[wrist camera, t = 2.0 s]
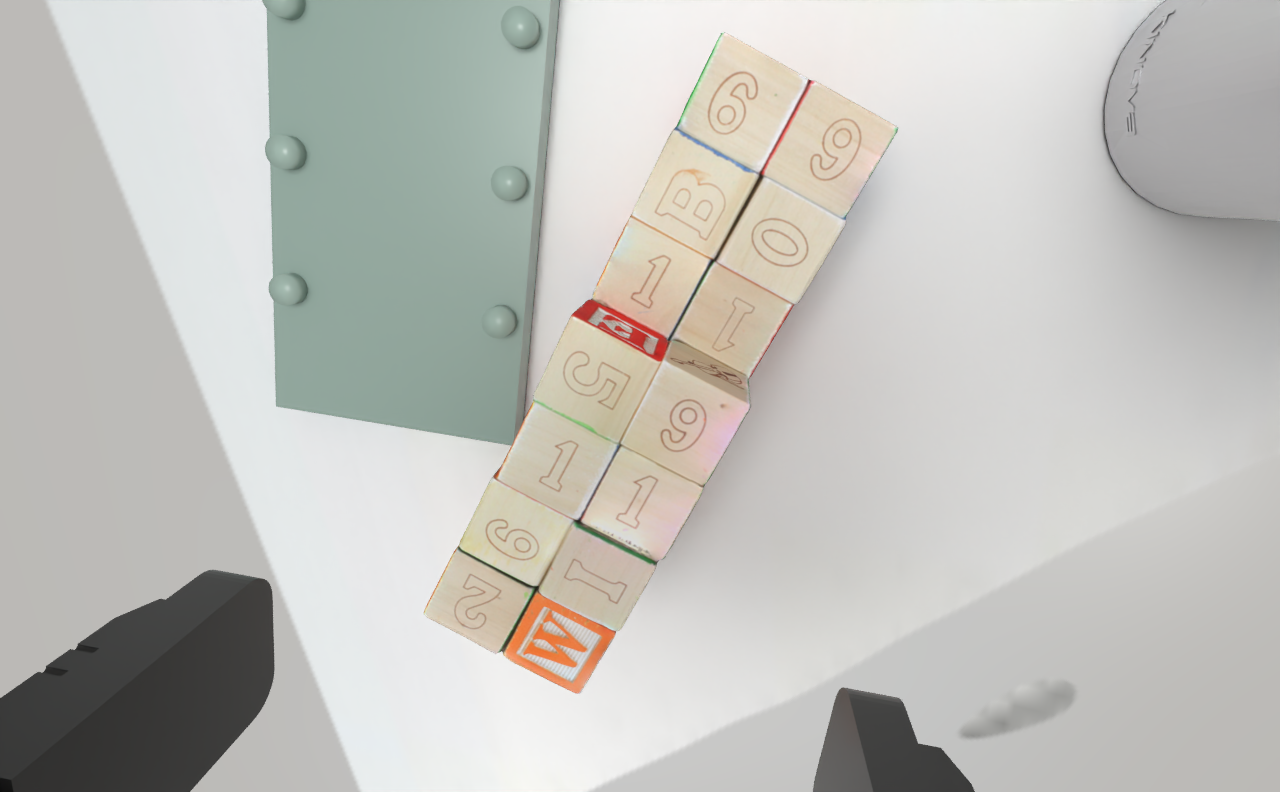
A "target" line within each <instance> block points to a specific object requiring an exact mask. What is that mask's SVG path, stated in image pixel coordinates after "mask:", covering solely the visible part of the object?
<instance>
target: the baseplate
mask: <svg viewBox="0 0 1280 792" xmlns="http://www.w3.org/2000/svg"><path fill="white" fill-rule="evenodd" d="M262 1H263V3H264V5H265V7H266V8H267V36H268V79H269V122H270V138H269V139H268V141H267V143H266V147H265V152H266V156H267V158H268V160H269V162H270V165H271V208H272V251H273V278H272V279H271V281H270V283H269V293H270V295H271V297H272V299H273V300H274V337H275V380H276V406H277V407H283V408H289V409H295V410H302V411H308V412H314V413H320V414H326V415H332V416H338V417H344V418H350V419H356V420H362V421H368V422H374V423H380V424H386V425H392V426H398V427H404V428H410V429H416V430H422V431H428V432H434V433H440V434H446V435H452V436H458V437H464V438H470V439H476V440H482V441H488V442H494V443H500V444H506V445H512V444H513V442H514V440H515V438H516V436H517V434H518V432H519V430H520V427H521V425H522V423H523V418H524V406H525V395H526V383H527V372H528V360H529V349H530V337H531V326H532V314H533V303H534V291H535V280H536V268H537V257H538V245H539V234H540V222H541V210H542V199H543V187H544V176H545V164H546V153H547V141H548V130H549V118H550V107H551V95H552V84H553V72H554V61H555V49H556V38H557V26H558V14H559V3H560V0H262Z"/></svg>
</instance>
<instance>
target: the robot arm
mask: <svg viewBox="0 0 1280 792" xmlns="http://www.w3.org/2000/svg"><path fill="white" fill-rule="evenodd" d="M1105 134H1106V138H1107V142H1108V146H1109V151H1110V155H1111V157H1112V159H1113V161H1114V163H1115V165H1116V167H1117V169H1118V171H1119V173H1120V174H1121V176H1122V177H1123V179H1124V180H1125V181H1126V182H1127V183H1128V184H1129V185H1130V186H1131V187H1132V188H1133V190H1134V191H1135V192H1136V193H1137V194H1139V195H1140V196H1142V197H1143V198H1145V199H1146V200H1148V201H1149V202H1151V203H1152V204H1154V205H1155V206H1158V207H1161V208H1163V209H1166V210H1169V211H1172V212H1175V213H1177V214H1184V215H1192V216H1200V217H1217V218H1237V219H1257V220H1270V221H1280V0H1166V1H1165V2H1163V3H1162V4H1161V5H1159V6H1158V7H1157V8H1156V9H1155V10H1154V11H1153V12H1152V13H1151V15H1150V16H1149V17H1148V18H1147V19H1146V20H1145V21H1144V22H1143V23H1142V24H1141V25H1140V27H1139V28H1138V29H1137V30H1136V31H1135V33H1134V35H1133V36H1132V38H1131V39H1130V41H1129V42H1128V44H1127V46H1126V47H1125V49H1124V50H1123V52H1122V53H1121V55H1120V58H1119V60H1118V63H1117V65H1116V67H1115V70H1114V72H1113V75H1112V77H1111V80H1110V83H1109V89H1108V94H1107V99H1106V104H1105ZM273 638H274V637H273V600H272V589H271V586H270V584H269V583H268V582H267V580H265V579H261V578H255V577H250V576H244V575H239V574H234V573H228V572H223V571H218V570H209V571H206V572H204V573H202V574H201V575H199V576H198V577H196V578H195V579H194V580H192V581H191V582H189V583H188V584H187V585H185V586H184V587H183V588H181V589H180V590H179V591H177V592H176V593H174V594H173V595H172V596H170V597H169V598H168V599H166V600H163V599H159V600H156V601H154V602H151V603H149V604H147V605H144V606H142V607H140V608H137V609H135V610H133V611H130V612H128V613H126V614H123V615H121V616H119V617H116V618H114V619H113V620H111V621H110V622H109V623H107V624H106V625H104V626H103V627H102V628H100V629H99V630H97V631H96V632H94V633H93V634H91V635H90V636H89V637H87V638H86V639H84V640H83V641H81V642H80V643H79V644H78V646H77V648H76V649H75V650H71V649H70V650H69V651H67V652H66V653H64V654H63V655H62V656H60V657H59V658H57V659H56V660H54V661H53V662H51V663H50V664H49V665H47V666H46V669H45V671H44V672H43V673H41V672H37V673H36V674H34V675H33V676H31V677H30V678H29V679H27V680H26V681H24V682H23V683H22V684H20V685H19V686H17V687H16V688H14V689H13V690H12V691H10V692H9V693H7V694H6V695H4V696H3V697H2V698H0V792H190V791H191V790H192V789H193V788H194V786H195V785H196V784H197V783H198V782H199V781H200V780H201V779H202V777H203V776H204V775H205V774H206V773H207V772H208V771H209V769H210V768H211V767H212V766H213V765H214V764H215V763H216V762H217V761H218V759H219V758H220V757H221V756H222V755H223V754H224V753H225V752H226V750H227V749H228V748H229V747H230V746H231V745H232V744H233V743H234V741H235V740H236V739H237V738H238V737H239V736H240V735H241V733H242V732H243V731H244V730H245V729H246V728H247V727H248V725H250V723H251V722H252V721H253V720H254V719H255V717H256V716H257V715H258V713H259V712H260V710H261V709H262V707H263V705H264V704H265V701H266V699H267V697H268V695H269V692H270V689H271V686H272V682H273V677H274V639H273ZM813 792H975V791H974V789H973V787H972V784H971V783H970V782H969V781H968V780H967V779H966V777H965V776H964V775H963V774H962V773H961V771H960V770H959V769H958V768H957V767H956V765H955V764H954V763H953V762H952V761H951V759H950V758H949V757H948V756H947V755H946V754H945V753H944V751H943V750H942V749H941V748H938V747H933V746H928V745H923V744H918V742H917V739H916V737H915V734H914V731H913V728H912V725H911V722H910V720H909V717H908V714H907V711H906V709H905V706H904V704H903V702H902V701H901V700H900V699H899V698H896V697H891V696H886V695H880V694H875V693H870V692H864V691H859V690H853V689H848V688H841V689H840V690H839V692H838V694H837V696H836V699H835V703H834V706H833V710H832V714H831V718H830V722H829V726H828V729H827V733H826V737H825V741H824V745H823V749H822V753H821V757H820V760H819V764H818V768H817V772H816V776H815V781H814V788H813Z"/></svg>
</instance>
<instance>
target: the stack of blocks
mask: <svg viewBox="0 0 1280 792" xmlns="http://www.w3.org/2000/svg"><path fill="white" fill-rule="evenodd" d="M897 130H898V127H897V126H895V125H893V124H891V123H890V122H888V121H886V120H884V119H882V118H881V117H879V116H877V115H875V114H874V113H872V112H870V111H868V110H866V109H865V108H863V107H861V106H859V105H857V104H855V103H854V102H852V101H850V100H848V99H846V98H845V97H843V96H841V95H840V94H838V93H836V92H834V91H832V90H831V89H829V88H827V87H825V86H823V85H822V84H820V83H818V82H816V81H811V80H809V79H807V78H805V77H804V76H802V75H800V74H798V73H797V72H795V71H793V70H792V69H790V68H788V67H787V66H785V65H783V64H781V63H779V62H778V61H776V60H774V59H772V58H770V57H769V56H767V55H765V54H763V53H761V52H759V51H757V50H756V49H754V48H752V47H751V46H749V45H747V44H745V43H743V42H741V41H740V40H738V39H736V38H734V37H732V36H731V35H729V34H727V33H725V32H723V33H721V35H720V37H719V39H718V40H717V42H716V44H715V47H714V49H713V51H712V53H711V55H710V57H709V59H708V61H707V63H706V65H705V67H704V69H703V71H702V73H701V76H700V78H699V80H698V82H697V84H696V86H695V88H694V90H693V92H692V94H691V96H690V98H689V100H688V102H687V104H686V106H685V109H684V111H683V113H682V116H681V118H680V120H679V122H678V125H677V126H676V128H675V129H674V130H673V131H672V133H671V134H670V136H669V138H668V140H667V142H666V144H665V146H664V148H663V150H662V152H661V154H660V156H659V159H658V161H657V163H656V165H655V167H654V169H653V171H652V173H651V175H650V177H649V179H648V181H647V183H646V185H645V187H644V189H643V191H642V193H641V195H640V197H639V199H638V201H637V204H636V206H635V208H634V210H633V212H632V215H631V216H630V218H629V220H628V222H627V223H626V225H625V227H624V229H623V232H622V234H621V235H620V237H619V239H618V241H617V243H616V246H615V248H614V250H613V252H612V254H611V256H610V258H609V261H608V263H607V265H606V267H605V269H604V271H603V273H602V275H601V277H600V280H599V282H598V284H597V286H596V288H595V290H594V293H593V299H591V300H588V301H586V302H585V303H584V304H583V305H582V306H581V307H580V308H579V309H577V311H575V312H574V313H573V314H572V315H571V317H570V319H569V321H568V323H567V325H566V327H565V330H564V332H563V334H562V336H561V338H560V340H559V342H558V344H557V346H556V348H555V351H554V353H553V355H552V357H551V359H550V361H549V363H548V366H547V368H546V370H545V372H544V374H543V376H542V378H541V380H540V382H539V385H538V387H537V389H536V391H535V393H534V395H533V403H532V405H531V407H530V409H529V411H528V413H527V415H526V417H525V419H524V421H523V423H522V425H521V427H520V430H519V432H518V434H517V436H516V438H515V440H514V442H513V444H512V446H511V448H510V450H509V452H508V454H507V456H506V458H505V460H504V462H503V464H502V466H501V467H500V468H499V469H498V471H497V472H496V473H495V474H494V476H493V477H492V479H491V480H490V482H489V484H488V486H487V488H486V490H485V492H484V494H483V496H482V498H481V501H480V503H479V505H478V507H477V509H476V511H475V513H474V515H473V517H472V519H471V521H470V523H469V525H468V527H467V529H466V531H465V533H464V535H463V537H462V539H461V541H460V544H459V546H458V547H457V548H456V550H455V551H454V553H453V555H452V557H451V559H450V561H449V563H448V565H447V567H446V569H445V570H444V572H443V574H442V576H441V578H440V580H439V582H438V584H437V586H436V588H435V590H434V592H433V594H432V596H431V598H430V600H429V602H428V604H427V606H426V608H425V611H424V615H425V616H426V617H427V618H429V619H431V620H433V621H435V622H437V623H439V624H441V625H443V626H445V627H447V628H449V629H450V630H452V631H454V632H456V633H458V634H460V635H462V636H464V637H466V638H468V639H470V640H471V641H473V642H475V643H477V644H479V645H480V646H482V647H484V648H486V649H487V650H489V651H491V652H493V653H495V654H497V653H499V652H501V651H503V655H504V656H505V657H506V658H508V659H509V660H510V661H512V662H513V663H515V664H517V665H520V666H522V667H524V668H526V669H528V670H530V671H532V672H533V673H535V674H537V675H539V676H541V677H543V678H545V679H547V680H549V681H551V682H553V683H555V684H558V685H560V686H562V687H564V688H566V689H568V690H570V691H572V692H574V693H578V694H580V693H581V691H582V690H583V688H584V686H585V685H586V683H587V681H588V680H589V678H590V676H591V675H592V673H593V671H594V670H595V668H596V666H597V664H598V663H599V661H600V660H601V658H602V656H603V655H604V653H605V651H606V650H607V648H608V646H609V645H610V643H611V641H612V640H613V638H614V636H615V633H616V631H619V630H620V629H621V628H622V627H623V625H624V623H625V621H626V620H627V618H628V616H629V614H630V613H631V611H632V609H633V607H634V606H635V604H636V602H637V600H638V599H639V597H640V595H641V594H642V592H643V590H644V588H645V587H646V585H647V583H648V581H649V579H650V578H651V576H652V574H653V572H654V571H655V568H656V565H657V562H658V561H659V560H662V559H664V558H665V557H666V555H667V553H668V551H669V550H670V548H671V547H672V545H673V543H674V541H675V539H676V537H677V536H678V534H679V532H680V531H681V529H682V527H683V526H684V524H685V522H686V520H687V519H688V517H689V515H690V513H691V512H692V510H693V508H694V507H695V505H696V503H697V501H698V500H699V498H700V496H701V493H702V491H703V488H704V485H705V483H706V482H707V481H708V480H709V479H710V477H711V475H712V473H713V472H714V470H715V468H716V466H717V465H718V463H719V461H720V460H721V458H722V456H723V454H724V453H725V451H726V449H727V447H728V446H729V444H730V442H731V441H732V439H733V437H734V435H735V434H736V432H737V430H738V428H739V427H740V425H741V423H742V421H743V420H744V418H745V416H746V415H747V413H748V411H749V410H750V406H751V404H750V393H749V380H748V379H749V378H750V377H751V375H752V374H753V372H754V370H755V369H756V367H757V365H758V364H759V362H760V360H761V359H762V357H763V355H764V354H765V352H766V350H767V349H768V347H769V345H770V344H771V342H772V340H773V339H774V337H775V335H776V334H777V332H778V330H779V329H780V327H781V326H782V324H783V322H784V321H785V319H786V317H787V316H788V314H789V312H790V311H791V309H792V307H793V306H794V305H796V304H797V303H799V301H800V300H801V298H802V296H803V295H804V293H805V291H806V290H807V288H808V287H809V285H810V283H811V282H812V280H813V279H814V277H815V275H816V274H817V272H818V271H819V269H820V267H821V266H822V264H823V262H824V260H825V259H826V257H827V255H828V254H829V252H830V250H831V249H832V247H833V245H834V244H835V242H836V240H837V238H838V237H839V235H840V233H841V232H842V230H843V228H844V227H845V225H846V215H847V214H848V212H849V211H850V209H851V207H852V206H853V204H854V203H855V201H856V199H857V198H858V196H859V194H860V193H861V191H862V189H863V188H864V186H865V184H866V183H867V181H868V179H869V178H870V176H871V174H872V173H873V171H874V169H875V168H876V166H877V164H878V163H879V161H880V159H881V158H882V156H883V155H884V153H885V151H886V150H887V148H888V146H889V144H890V143H891V141H892V139H893V138H894V136H895V134H896V133H897Z"/></svg>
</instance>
